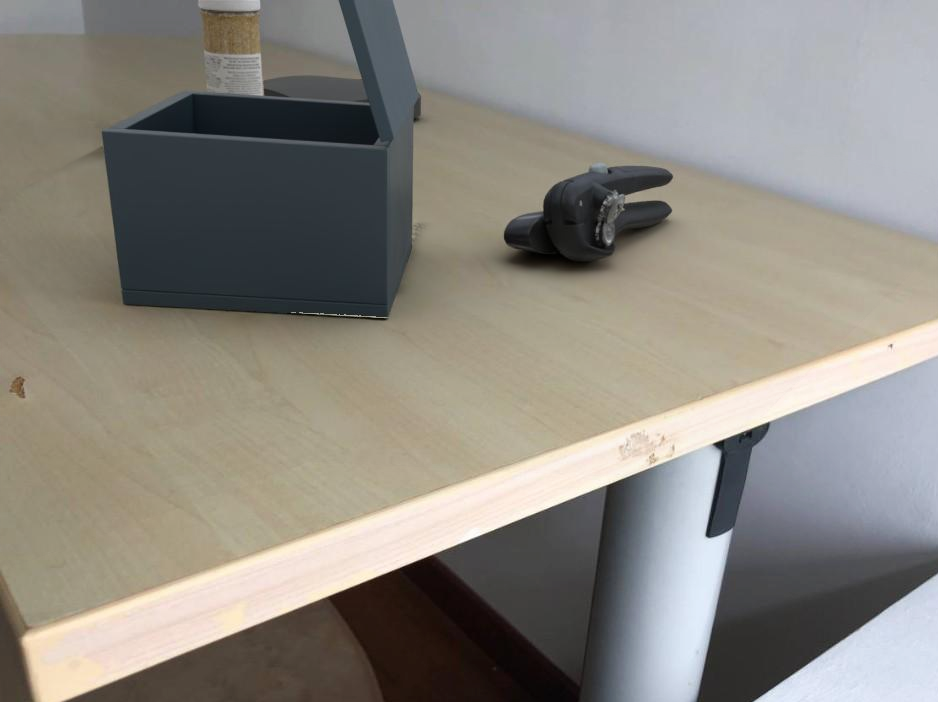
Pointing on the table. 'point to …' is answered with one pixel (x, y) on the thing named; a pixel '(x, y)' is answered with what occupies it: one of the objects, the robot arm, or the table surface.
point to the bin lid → (381, 62)
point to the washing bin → (260, 204)
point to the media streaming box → (322, 89)
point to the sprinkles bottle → (232, 46)
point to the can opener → (590, 212)
